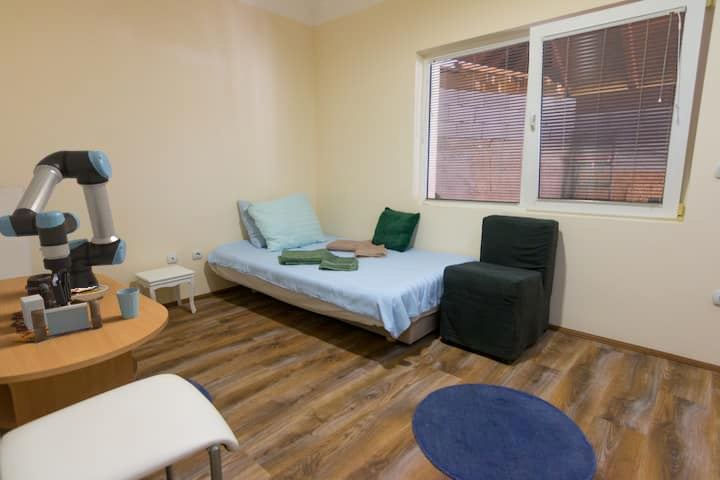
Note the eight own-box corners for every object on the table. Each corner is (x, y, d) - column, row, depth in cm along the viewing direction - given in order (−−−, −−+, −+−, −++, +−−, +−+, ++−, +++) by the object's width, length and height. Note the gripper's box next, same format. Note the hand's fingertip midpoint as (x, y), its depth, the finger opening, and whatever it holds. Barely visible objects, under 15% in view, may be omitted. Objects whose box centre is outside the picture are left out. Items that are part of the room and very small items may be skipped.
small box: (48, 325, 142) (43, 298, 140) (28, 330, 138) (23, 302, 136) (43, 320, 147) (39, 293, 145) (24, 324, 143) (19, 297, 141)
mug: (25, 312, 155) (19, 276, 152) (63, 304, 164) (57, 270, 161) (30, 323, 144) (23, 284, 141) (70, 314, 153) (64, 278, 150)
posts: (102, 325, 143) (98, 299, 141) (102, 327, 140) (99, 301, 138) (36, 338, 132) (31, 310, 130) (35, 341, 129) (30, 313, 127)
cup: (140, 318, 149) (137, 292, 147) (117, 321, 146) (114, 295, 144) (142, 311, 156) (139, 286, 154) (120, 314, 153) (117, 289, 151)
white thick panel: (90, 325, 140) (87, 302, 138) (90, 327, 139) (87, 303, 137) (48, 333, 133) (44, 309, 131) (48, 335, 132) (44, 311, 130)
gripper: (49, 253, 138) (60, 315, 143) (35, 262, 126) (48, 329, 131) (75, 251, 141) (84, 312, 145) (63, 259, 129) (74, 326, 134)
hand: (67, 320), depth 138 cm, fingers closed
